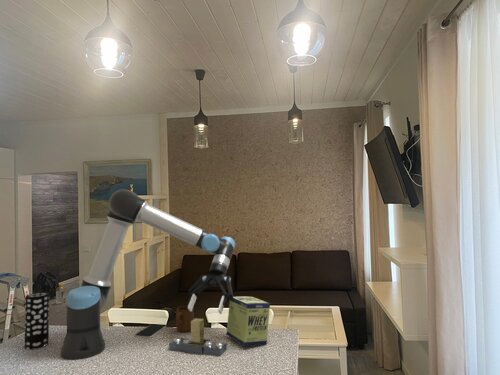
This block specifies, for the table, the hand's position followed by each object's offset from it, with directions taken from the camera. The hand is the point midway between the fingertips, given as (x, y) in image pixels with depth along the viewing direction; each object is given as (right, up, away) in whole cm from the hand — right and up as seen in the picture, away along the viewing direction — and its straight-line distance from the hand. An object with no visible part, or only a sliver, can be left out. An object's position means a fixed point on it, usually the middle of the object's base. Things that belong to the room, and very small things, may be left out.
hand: (204, 311), depth 139 cm
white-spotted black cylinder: (-68, -14, +1) cm, 69 cm away
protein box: (+17, -11, -1) cm, 20 cm away
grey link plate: (-1, -12, -8) cm, 14 cm away
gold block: (-1, -12, -8) cm, 14 cm away
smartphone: (-25, -15, +14) cm, 33 cm away
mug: (-11, -14, +13) cm, 22 cm away
